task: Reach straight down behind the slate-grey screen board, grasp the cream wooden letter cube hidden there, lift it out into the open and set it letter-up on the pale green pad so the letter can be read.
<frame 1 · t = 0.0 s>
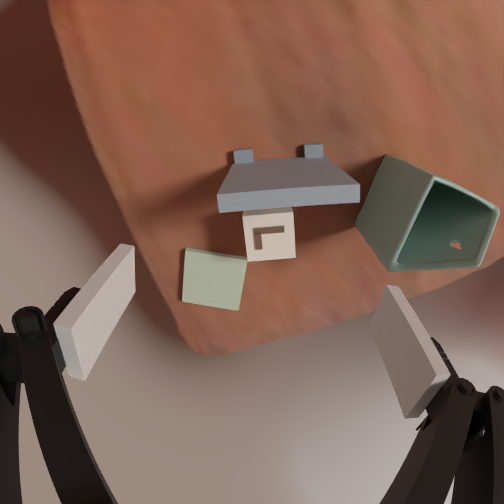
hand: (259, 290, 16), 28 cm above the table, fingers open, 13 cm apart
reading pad: (213, 278, 48), on the table
letter cube: (268, 220, 44), on the table
planter: (394, 179, 41), on the table
screen board: (279, 164, 40), on the table
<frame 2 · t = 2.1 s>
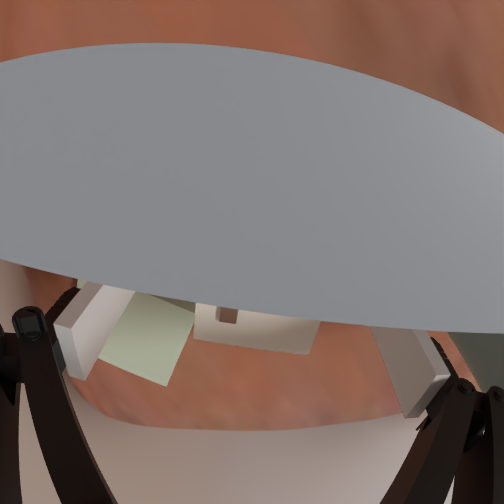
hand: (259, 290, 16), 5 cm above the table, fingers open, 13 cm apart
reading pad: (129, 324, 23), on the table
letter cube: (262, 245, 20), on the table
screen board: (323, 127, 16), on the table
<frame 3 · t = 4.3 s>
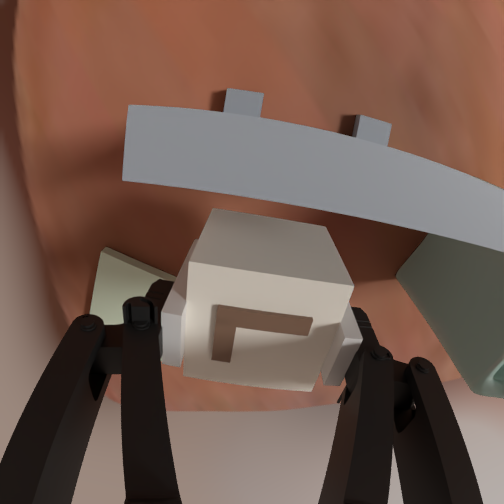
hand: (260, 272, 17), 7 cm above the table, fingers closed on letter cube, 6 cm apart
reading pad: (141, 307, 27), on the table
letter cube: (260, 267, 18), point 6 cm above the table, touching gripper
planter: (470, 218, 23), on the table
screen board: (304, 137, 21), on the table
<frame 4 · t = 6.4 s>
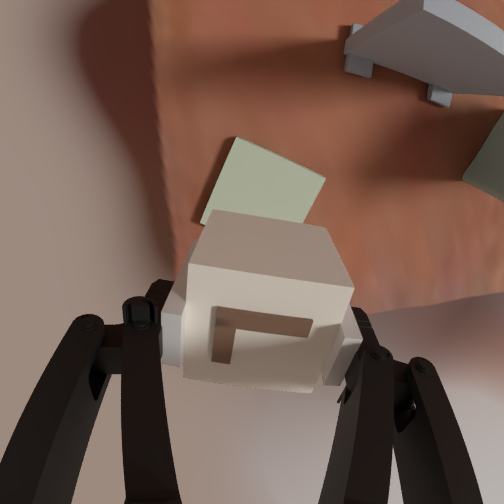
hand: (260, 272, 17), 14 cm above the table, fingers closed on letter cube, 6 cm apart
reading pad: (261, 197, 30), on the table
letter cube: (260, 268, 18), point 14 cm above the table, touching gripper
screen board: (402, 65, 24), on the table
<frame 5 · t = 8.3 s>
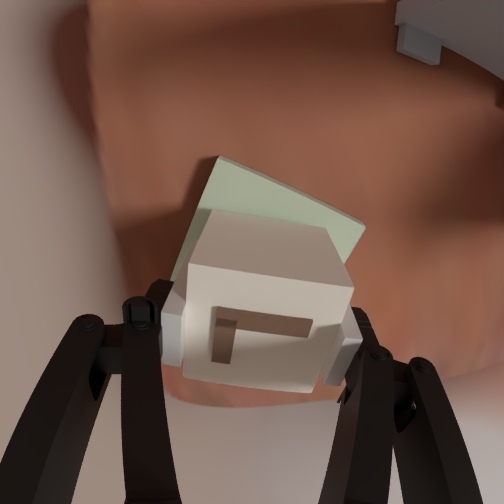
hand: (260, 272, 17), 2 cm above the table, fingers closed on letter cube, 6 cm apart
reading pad: (260, 254, 19), on the table
letter cube: (260, 268, 18), point 2 cm above the table, touching gripper
screen board: (475, 52, 13), on the table
when the fingers open (1 cm above the table, at t = 8.9 s): letter cube stays where it is, resting on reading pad.
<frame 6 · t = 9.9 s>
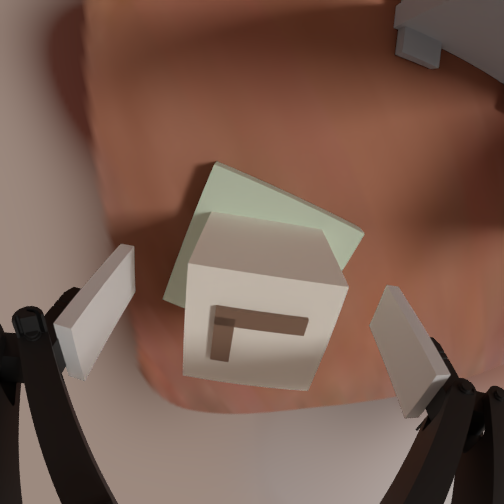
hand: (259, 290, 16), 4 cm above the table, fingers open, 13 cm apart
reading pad: (258, 261, 19), on the table
letter cube: (258, 269, 18), point 1 cm above the table, touching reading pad
screen board: (475, 55, 13), on the table
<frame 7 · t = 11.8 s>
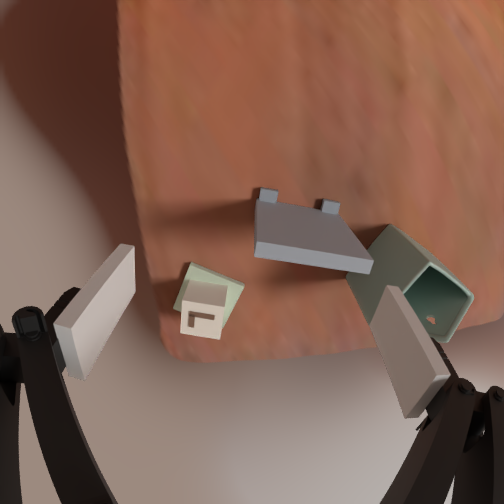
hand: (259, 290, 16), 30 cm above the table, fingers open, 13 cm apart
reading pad: (207, 295, 51), on the table
letter cube: (207, 298, 50), point 1 cm above the table, touching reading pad
planter: (390, 246, 47), on the table
screen board: (297, 210, 45), on the table
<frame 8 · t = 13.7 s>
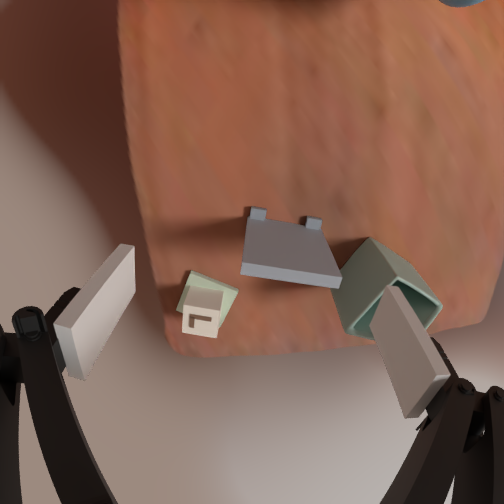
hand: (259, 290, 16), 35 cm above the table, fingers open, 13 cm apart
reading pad: (206, 298, 58), on the table
letter cube: (205, 301, 57), point 1 cm above the table, touching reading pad
planter: (370, 256, 53), on the table
screen board: (283, 226, 51), on the table
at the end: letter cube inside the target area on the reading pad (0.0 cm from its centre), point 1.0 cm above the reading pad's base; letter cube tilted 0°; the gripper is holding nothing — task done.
